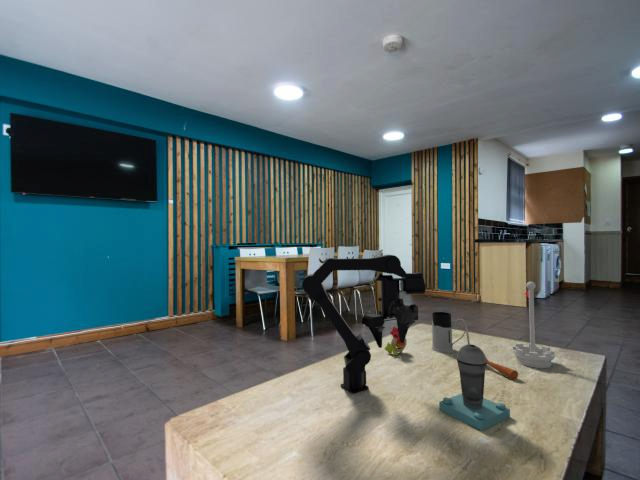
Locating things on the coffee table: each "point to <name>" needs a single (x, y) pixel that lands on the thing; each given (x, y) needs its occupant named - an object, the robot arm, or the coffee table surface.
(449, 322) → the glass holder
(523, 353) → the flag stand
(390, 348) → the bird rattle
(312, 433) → the coffee table surface
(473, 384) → the beverage cup
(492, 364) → the kendama
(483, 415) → the base brick
